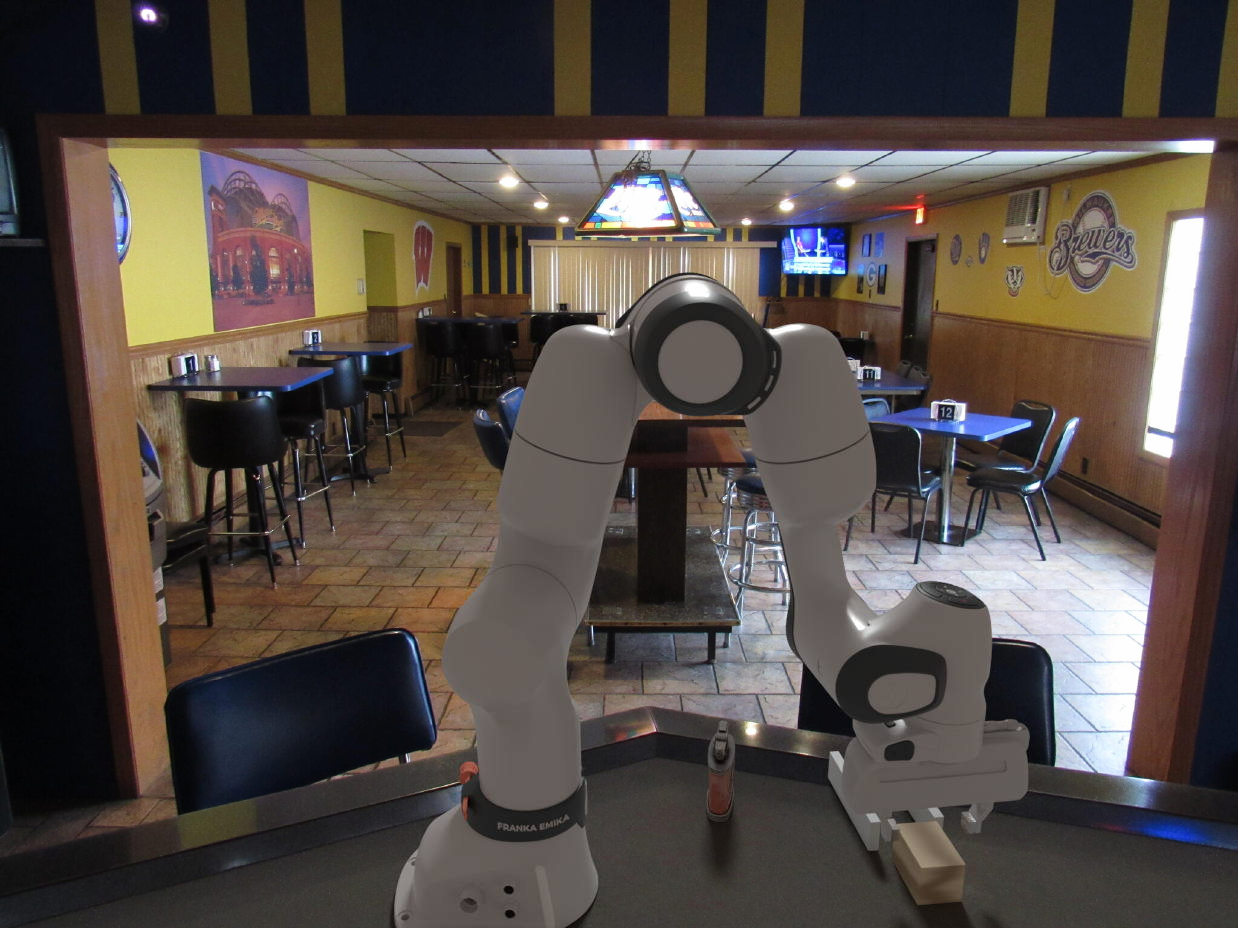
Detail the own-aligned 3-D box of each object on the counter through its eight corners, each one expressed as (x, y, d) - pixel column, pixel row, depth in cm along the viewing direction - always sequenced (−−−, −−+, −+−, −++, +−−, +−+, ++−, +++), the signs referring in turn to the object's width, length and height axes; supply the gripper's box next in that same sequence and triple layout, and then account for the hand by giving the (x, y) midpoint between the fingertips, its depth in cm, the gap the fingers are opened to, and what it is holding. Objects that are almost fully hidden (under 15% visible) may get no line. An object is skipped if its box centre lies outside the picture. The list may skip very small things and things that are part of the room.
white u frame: (868, 850, 100) (870, 822, 99) (828, 777, 113) (829, 751, 112) (940, 844, 101) (944, 816, 100) (892, 772, 114) (894, 746, 113)
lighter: (730, 823, 105) (733, 753, 102) (703, 819, 105) (705, 750, 103) (735, 782, 112) (737, 717, 110) (710, 779, 113) (711, 714, 110)
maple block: (917, 905, 92) (921, 867, 91) (891, 859, 99) (895, 823, 97) (961, 902, 92) (965, 864, 91) (932, 856, 99) (936, 820, 98)
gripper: (1014, 702, 95) (1003, 807, 99) (839, 717, 93) (833, 822, 97) (1047, 734, 89) (1033, 844, 93) (860, 750, 87) (853, 862, 91)
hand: (930, 833), depth 95 cm, fingers open, 8 cm apart
